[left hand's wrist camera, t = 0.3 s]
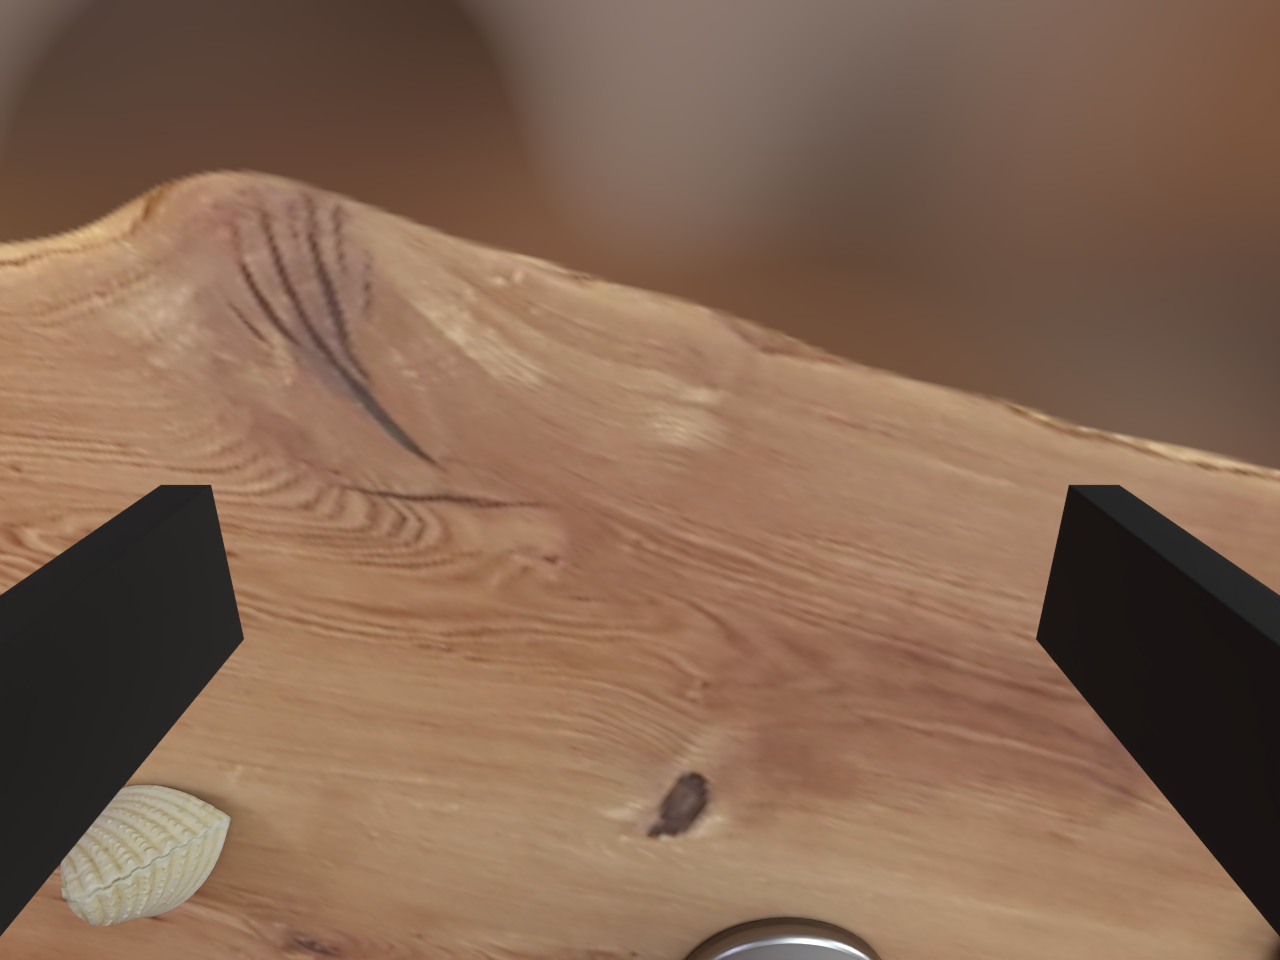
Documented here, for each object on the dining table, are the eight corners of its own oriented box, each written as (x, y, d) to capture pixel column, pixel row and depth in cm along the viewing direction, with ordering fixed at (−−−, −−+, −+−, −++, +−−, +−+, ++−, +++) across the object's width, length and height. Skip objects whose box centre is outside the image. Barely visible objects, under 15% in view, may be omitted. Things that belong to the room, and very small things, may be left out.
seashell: (16, 826, 48) (52, 829, 43) (167, 762, 55) (214, 758, 50) (57, 957, 48) (97, 976, 43) (203, 877, 55) (253, 885, 49)
